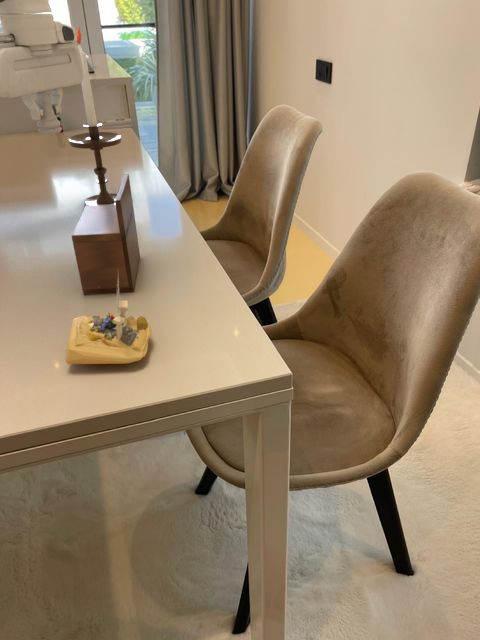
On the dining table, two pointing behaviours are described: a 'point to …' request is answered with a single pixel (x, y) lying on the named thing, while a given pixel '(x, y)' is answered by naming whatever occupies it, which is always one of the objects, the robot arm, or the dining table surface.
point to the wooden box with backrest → (108, 245)
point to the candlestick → (94, 137)
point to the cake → (108, 338)
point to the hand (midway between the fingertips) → (47, 117)
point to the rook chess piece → (47, 114)
